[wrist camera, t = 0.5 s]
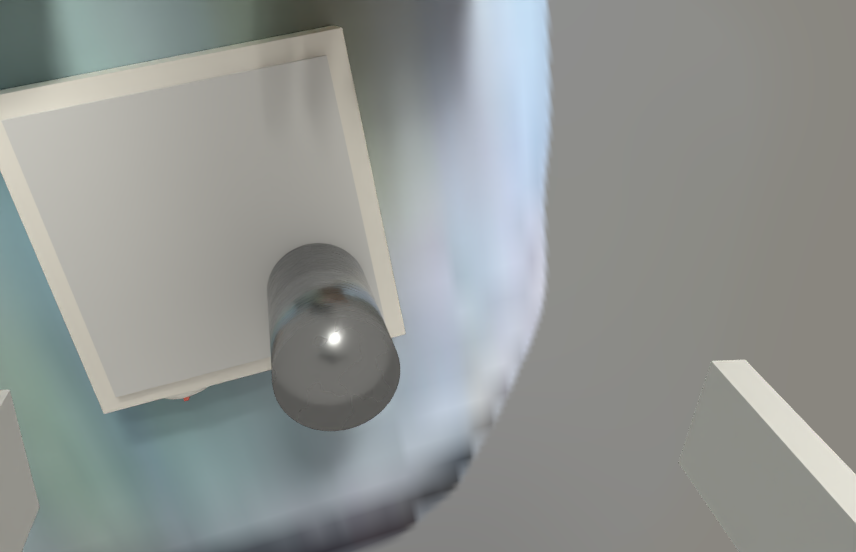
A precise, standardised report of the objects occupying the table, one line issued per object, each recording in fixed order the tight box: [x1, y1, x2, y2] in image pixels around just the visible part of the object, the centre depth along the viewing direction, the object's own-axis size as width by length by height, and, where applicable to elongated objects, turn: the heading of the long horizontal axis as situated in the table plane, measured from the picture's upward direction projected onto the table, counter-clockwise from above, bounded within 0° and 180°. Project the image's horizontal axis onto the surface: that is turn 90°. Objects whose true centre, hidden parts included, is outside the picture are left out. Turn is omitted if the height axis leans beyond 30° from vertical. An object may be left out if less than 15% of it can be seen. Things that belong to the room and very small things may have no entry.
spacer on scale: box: [267, 243, 400, 431], centre depth 32 cm, size 5×5×9 cm
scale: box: [0, 25, 406, 414], centre depth 35 cm, size 17×16×4 cm
